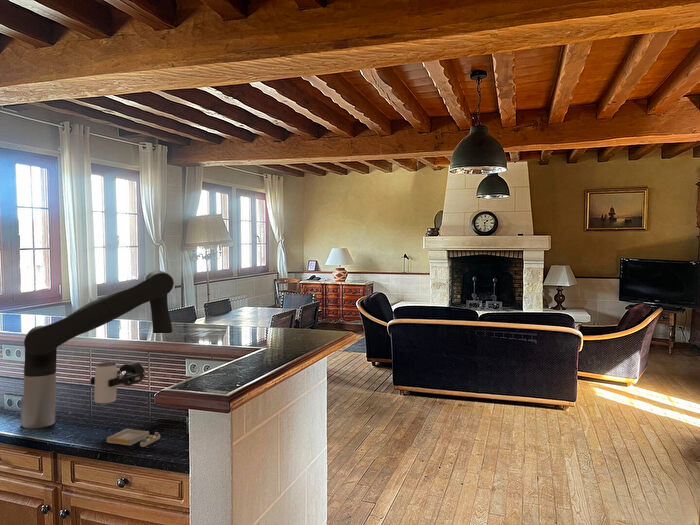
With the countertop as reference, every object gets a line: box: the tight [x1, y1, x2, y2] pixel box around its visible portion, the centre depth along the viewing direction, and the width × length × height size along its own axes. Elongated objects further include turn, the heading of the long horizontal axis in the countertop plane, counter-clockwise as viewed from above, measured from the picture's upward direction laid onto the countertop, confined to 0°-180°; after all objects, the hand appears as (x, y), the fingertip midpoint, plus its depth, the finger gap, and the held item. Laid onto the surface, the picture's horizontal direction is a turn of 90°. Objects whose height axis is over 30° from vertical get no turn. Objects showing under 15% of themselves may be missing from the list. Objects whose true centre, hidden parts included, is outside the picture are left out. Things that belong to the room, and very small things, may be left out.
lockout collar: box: [106, 428, 150, 446], centre depth 154 cm, size 9×9×2 cm
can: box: [93, 362, 118, 405], centre depth 160 cm, size 6×6×12 cm
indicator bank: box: [139, 431, 161, 448], centre depth 152 cm, size 1×8×2 cm, turn 165°
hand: (100, 382), depth 157 cm, fingers closed on can, 6 cm apart
